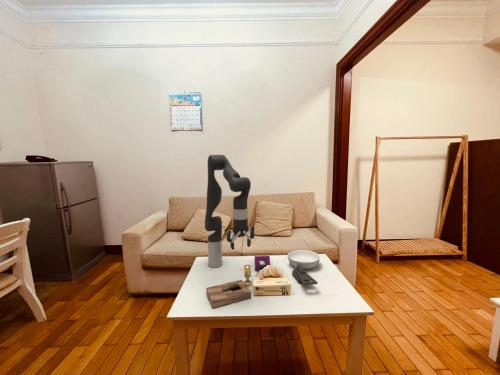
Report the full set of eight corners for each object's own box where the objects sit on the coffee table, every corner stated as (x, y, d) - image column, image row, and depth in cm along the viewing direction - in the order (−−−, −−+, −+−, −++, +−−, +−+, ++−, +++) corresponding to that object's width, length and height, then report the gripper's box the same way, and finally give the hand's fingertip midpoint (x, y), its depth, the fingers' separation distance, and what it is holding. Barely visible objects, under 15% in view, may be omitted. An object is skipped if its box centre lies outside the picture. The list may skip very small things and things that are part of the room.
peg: (242, 283, 135) (242, 265, 134) (249, 281, 137) (249, 263, 136) (245, 286, 131) (245, 268, 130) (252, 285, 133) (252, 266, 132)
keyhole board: (206, 294, 124) (206, 287, 124) (241, 286, 132) (241, 279, 132) (212, 308, 112) (212, 301, 112) (251, 298, 120) (250, 291, 120)
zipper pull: (302, 283, 122) (290, 262, 146) (302, 295, 122) (290, 272, 147) (319, 282, 122) (304, 261, 147) (319, 294, 123) (304, 271, 148)
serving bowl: (306, 256, 171) (306, 247, 170) (326, 268, 152) (326, 258, 151) (281, 262, 162) (281, 252, 161) (300, 275, 143) (300, 264, 142)
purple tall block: (254, 269, 164) (255, 270, 147) (254, 257, 167) (254, 256, 150) (268, 269, 164) (270, 269, 147) (267, 257, 167) (269, 255, 150)
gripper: (250, 213, 124) (250, 243, 126) (224, 216, 119) (225, 247, 121) (256, 217, 117) (256, 248, 120) (229, 220, 112) (229, 253, 114)
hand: (240, 247), depth 120 cm, fingers open, 8 cm apart
